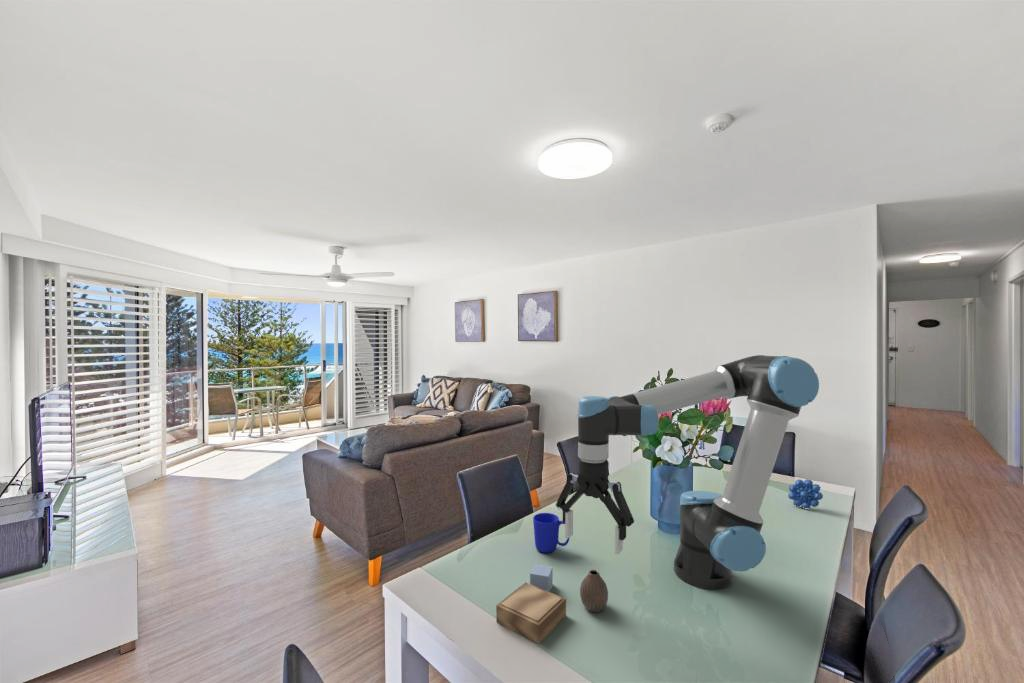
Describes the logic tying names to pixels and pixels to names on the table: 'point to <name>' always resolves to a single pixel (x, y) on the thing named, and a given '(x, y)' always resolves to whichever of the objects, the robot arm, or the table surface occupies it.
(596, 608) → the vase
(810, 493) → the grapes
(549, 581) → the block
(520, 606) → the plinth
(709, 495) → the robot arm
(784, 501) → the table surface
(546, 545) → the mug
